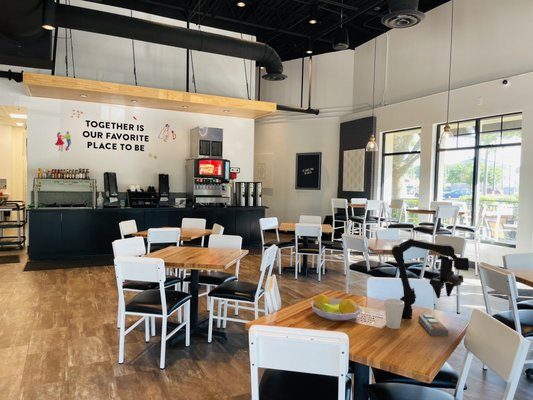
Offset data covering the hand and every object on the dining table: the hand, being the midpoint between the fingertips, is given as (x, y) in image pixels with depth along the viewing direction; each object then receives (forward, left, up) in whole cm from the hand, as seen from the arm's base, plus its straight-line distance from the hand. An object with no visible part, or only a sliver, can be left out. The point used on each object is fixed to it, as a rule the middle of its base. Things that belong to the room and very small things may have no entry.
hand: (443, 297), depth 202 cm
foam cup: (-28, -13, -14) cm, 34 cm away
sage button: (-8, -11, -11) cm, 18 cm away
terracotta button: (-8, -18, -11) cm, 23 cm away
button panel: (-8, -11, -13) cm, 19 cm away
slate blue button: (-8, -4, -11) cm, 14 cm away
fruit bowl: (-57, -5, -14) cm, 59 cm away
